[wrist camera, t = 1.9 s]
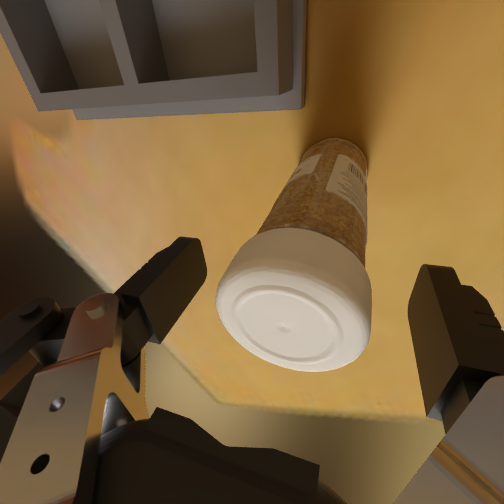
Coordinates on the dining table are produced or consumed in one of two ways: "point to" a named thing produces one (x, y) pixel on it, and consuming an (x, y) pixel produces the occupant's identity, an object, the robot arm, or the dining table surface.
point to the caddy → (158, 55)
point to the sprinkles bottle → (306, 268)
